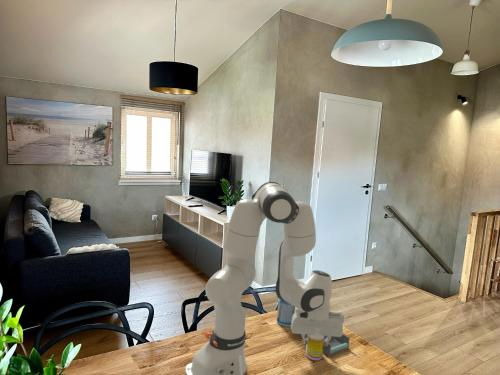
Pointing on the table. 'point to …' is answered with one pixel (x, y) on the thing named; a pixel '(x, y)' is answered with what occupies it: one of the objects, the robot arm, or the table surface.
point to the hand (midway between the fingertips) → (315, 344)
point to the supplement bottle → (315, 345)
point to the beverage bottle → (285, 313)
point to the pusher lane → (335, 344)
